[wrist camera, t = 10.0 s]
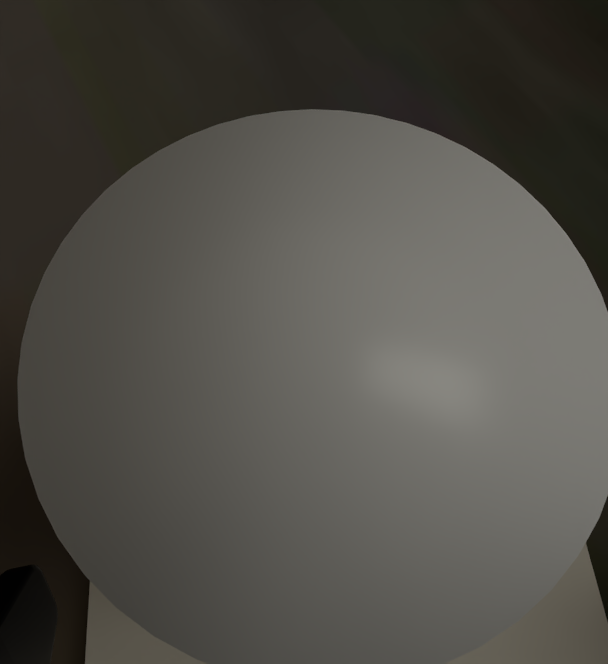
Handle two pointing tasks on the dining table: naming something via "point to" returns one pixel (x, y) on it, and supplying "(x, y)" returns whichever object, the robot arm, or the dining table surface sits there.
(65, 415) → the cover cup
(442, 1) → the dining table surface
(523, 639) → the placemat
